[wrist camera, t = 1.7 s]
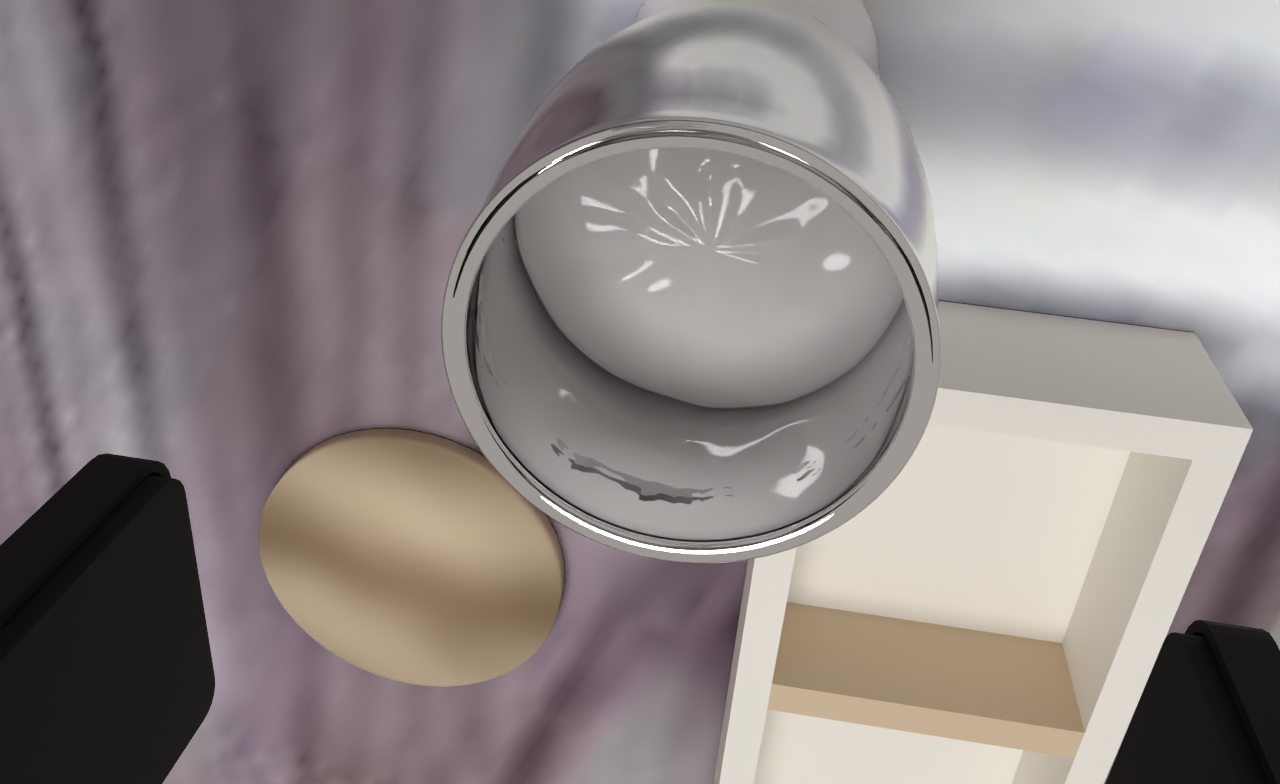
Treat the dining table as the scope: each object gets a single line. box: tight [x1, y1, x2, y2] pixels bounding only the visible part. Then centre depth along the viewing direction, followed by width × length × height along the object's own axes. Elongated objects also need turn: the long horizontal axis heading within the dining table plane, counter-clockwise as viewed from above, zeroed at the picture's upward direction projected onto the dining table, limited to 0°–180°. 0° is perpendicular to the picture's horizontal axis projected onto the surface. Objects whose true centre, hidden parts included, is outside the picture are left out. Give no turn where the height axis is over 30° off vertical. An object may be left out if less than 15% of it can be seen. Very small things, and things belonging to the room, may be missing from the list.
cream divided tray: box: [713, 301, 1253, 784], centre depth 33 cm, size 21×10×5 cm, turn 176°
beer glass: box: [441, 0, 941, 563], centre depth 21 cm, size 7×7×15 cm
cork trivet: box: [259, 428, 565, 686], centre depth 37 cm, size 10×10×1 cm
